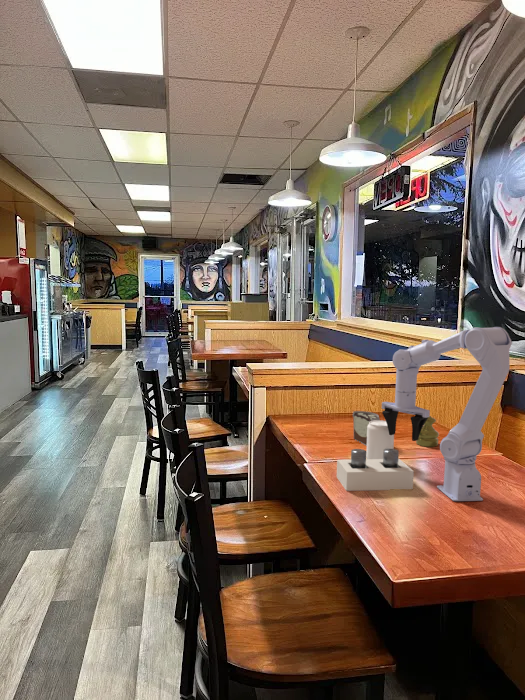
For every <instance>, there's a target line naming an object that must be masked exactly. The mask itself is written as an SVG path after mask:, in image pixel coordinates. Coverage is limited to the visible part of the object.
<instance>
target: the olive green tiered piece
mask: <svg viewBox="0 0 525 700" xmlns="http://www.w3.org/2000/svg"><path fill="white" fill-rule="evenodd" d="M436 422H437V419H436V418H434V417H433V416H431V415H429V417H428V419H427V421H426V422H425V424H424V425H423V427H422V429H421V432H420V435H419V438H418V440H417V441H415V443H416V444H417V445H419V446H421V447H425V448H435V446H436V447H437V446H439V436H440V433H439V431H438V430H436V429H435V428H434V426H433V425H434V423H436Z"/></svg>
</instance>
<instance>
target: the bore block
mask: <svg viewBox="0 0 525 700" xmlns="http://www.w3.org/2000/svg"><path fill="white" fill-rule="evenodd" d="M414 472H415V470H413V469H412V468H411V467H410V466H409V465H407V464H406V463H405V462H404V461H403V460H402V459H400V458H398V468H385V467H384V466H383V459H367V458H366V468H356V469H353V468H352V467H351V459H337V460H336V478H337V480H338V481H339V482H340V484H341V485H342V487H343V488H344V490H345V491H347V492H349V491H351V492H353V491H355V492H356V491H361V492H362V491H391V490H390V489H413V488H414Z"/></svg>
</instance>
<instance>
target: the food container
mask: <svg viewBox="0 0 525 700" xmlns="http://www.w3.org/2000/svg"><path fill="white" fill-rule="evenodd" d="M352 418H353V419H352V420H353V440H354V439H355V440H354V441H356V440H357V441H356V442H358V441H359V442H358V443H360V442H361V443H360V444H362V445H364V446H366V447H367V426H368V424H369V422H370V421H373V420H380V416H379V414H377V413H375V412H371V411H365V410H364V411H362V410H353V411H352Z"/></svg>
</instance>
